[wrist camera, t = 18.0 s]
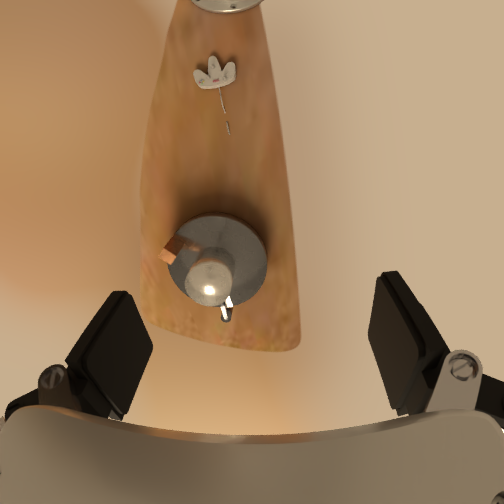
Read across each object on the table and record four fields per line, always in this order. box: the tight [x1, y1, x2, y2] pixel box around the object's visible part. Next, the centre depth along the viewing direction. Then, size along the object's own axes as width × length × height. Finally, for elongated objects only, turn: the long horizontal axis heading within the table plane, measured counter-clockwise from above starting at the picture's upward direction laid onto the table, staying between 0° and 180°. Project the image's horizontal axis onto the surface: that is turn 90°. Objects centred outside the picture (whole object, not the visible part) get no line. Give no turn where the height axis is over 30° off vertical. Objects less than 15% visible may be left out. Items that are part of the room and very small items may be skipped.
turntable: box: [158, 212, 267, 307], centre depth 39 cm, size 15×15×7 cm
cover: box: [185, 247, 236, 306], centre depth 38 cm, size 6×6×6 cm
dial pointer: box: [221, 304, 233, 322], centre depth 45 cm, size 3×2×4 cm, turn 8°
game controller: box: [193, 56, 236, 135], centre depth 32 cm, size 6×12×3 cm, turn 29°
